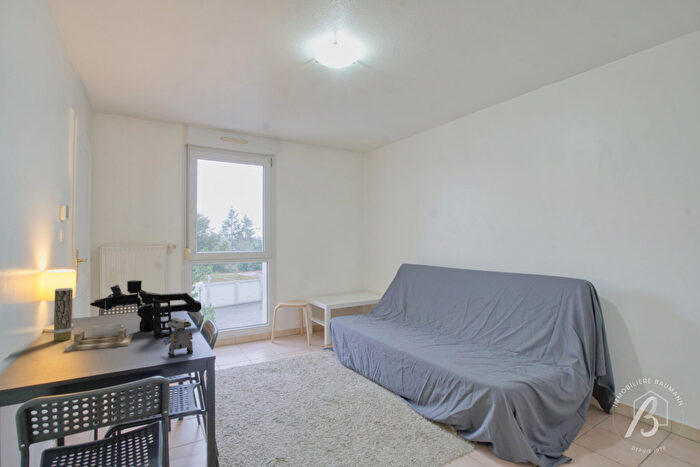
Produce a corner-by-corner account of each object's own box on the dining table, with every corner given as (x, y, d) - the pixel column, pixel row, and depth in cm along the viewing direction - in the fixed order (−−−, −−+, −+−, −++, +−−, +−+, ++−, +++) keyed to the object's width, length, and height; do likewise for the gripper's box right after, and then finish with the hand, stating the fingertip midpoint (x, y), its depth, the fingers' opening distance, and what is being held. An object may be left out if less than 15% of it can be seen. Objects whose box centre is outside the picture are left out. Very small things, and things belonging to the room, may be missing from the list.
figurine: (184, 348, 163) (185, 315, 163) (194, 354, 155) (195, 319, 155) (163, 352, 156) (163, 318, 157) (172, 359, 148) (173, 323, 149)
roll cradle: (132, 337, 179) (133, 324, 180) (128, 345, 167) (128, 331, 167) (74, 343, 170) (74, 329, 170) (64, 351, 157) (65, 336, 157)
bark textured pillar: (61, 342, 171) (62, 290, 172) (49, 341, 172) (51, 289, 173) (74, 338, 178) (76, 288, 178) (63, 337, 179) (65, 287, 180)
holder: (176, 334, 185) (174, 297, 184) (168, 340, 178) (166, 300, 176) (157, 334, 186) (154, 296, 185) (147, 339, 179) (145, 300, 177)
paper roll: (122, 334, 186) (122, 323, 186) (120, 337, 181) (120, 325, 181) (94, 336, 181) (94, 325, 181) (91, 339, 176) (91, 327, 176)
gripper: (129, 283, 200) (96, 285, 194) (124, 286, 183) (87, 289, 177) (130, 303, 200) (96, 305, 193) (124, 308, 183) (87, 311, 176)
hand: (92, 302), depth 185 cm, fingers open, 9 cm apart
